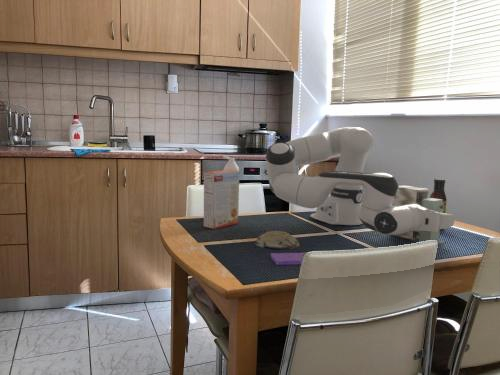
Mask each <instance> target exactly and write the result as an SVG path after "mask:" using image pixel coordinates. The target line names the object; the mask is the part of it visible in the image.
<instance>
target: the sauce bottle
mask: <svg viewBox="0 0 500 375" xmlns="http://www.w3.org/2000/svg"><path fill="white" fill-rule="evenodd" d="M433 183H434V186H433V192H431V194H430V196H429V198H435V199H442V200H443V203H442V206H444V208H443V209H442V213H446V212H447V200H448V199H447V195H446V192H445V185H446V179H445V178H444V179H443V178H434V180H433Z"/></svg>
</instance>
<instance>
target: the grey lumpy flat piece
mask: <svg viewBox="0 0 500 375" xmlns="http://www.w3.org/2000/svg"><path fill="white" fill-rule="evenodd" d="M254 242H255V244H254V245H256V246H258V247H260V248H263V249H264V248H269V249H276V250H283V251H284V250H285V251H286V250H294V249H297V248H298V247H300V243H299V241H298V239H297V238H296V237H294V236H293V235H291V234H290V233H289V232H286V231H282V230H281V231H280V230H270V231H266V232H264V233H263V234H261V235H259V236H257V238H256V239H255V240H254Z"/></svg>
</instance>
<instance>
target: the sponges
mask: <svg viewBox="0 0 500 375" xmlns="http://www.w3.org/2000/svg"><path fill="white" fill-rule="evenodd" d="M305 253H306V252H283V253H282V252H280V253H277V252H276V253H274V252H271V253H270V259H271V260H272V261H273V262H274V263H275V265H277V266H279V265H280V266H282V265H289V266H290V265H302V264H301V261H302V258H303V255H304V254H305Z"/></svg>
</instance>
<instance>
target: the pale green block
mask: <svg viewBox="0 0 500 375" xmlns="http://www.w3.org/2000/svg"><path fill="white" fill-rule="evenodd" d="M442 203H443V200H442V199H435V198H430V197H428V199H423V205H422V207H424V208H426V209H429V210H433V211H436V212H442V209H443V208H444V206H442ZM440 230H441V229H438V231H437V232H428V231H420V236H419V241H426V240H437V241H439V240H440Z"/></svg>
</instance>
